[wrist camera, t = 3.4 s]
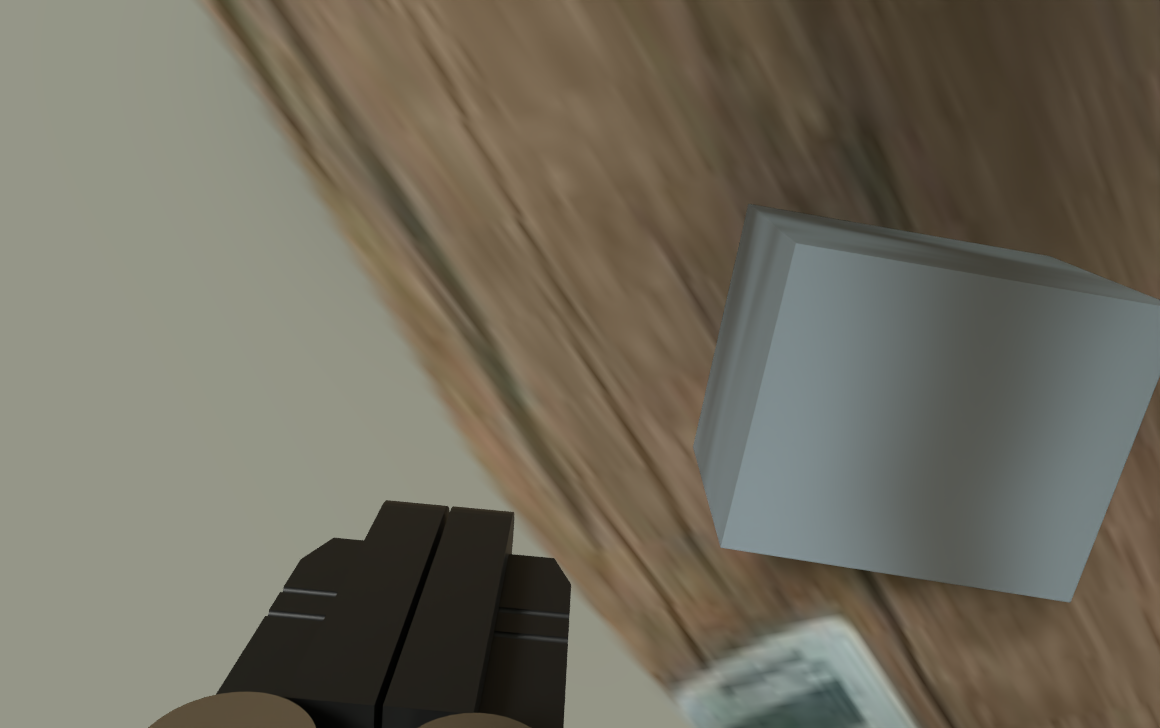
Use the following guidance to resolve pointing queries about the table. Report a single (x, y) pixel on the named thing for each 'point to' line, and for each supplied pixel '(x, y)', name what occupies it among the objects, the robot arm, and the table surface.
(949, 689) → the table surface
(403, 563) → the robot arm
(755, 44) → the table surface
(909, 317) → the block
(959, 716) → the table surface
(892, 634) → the table surface
